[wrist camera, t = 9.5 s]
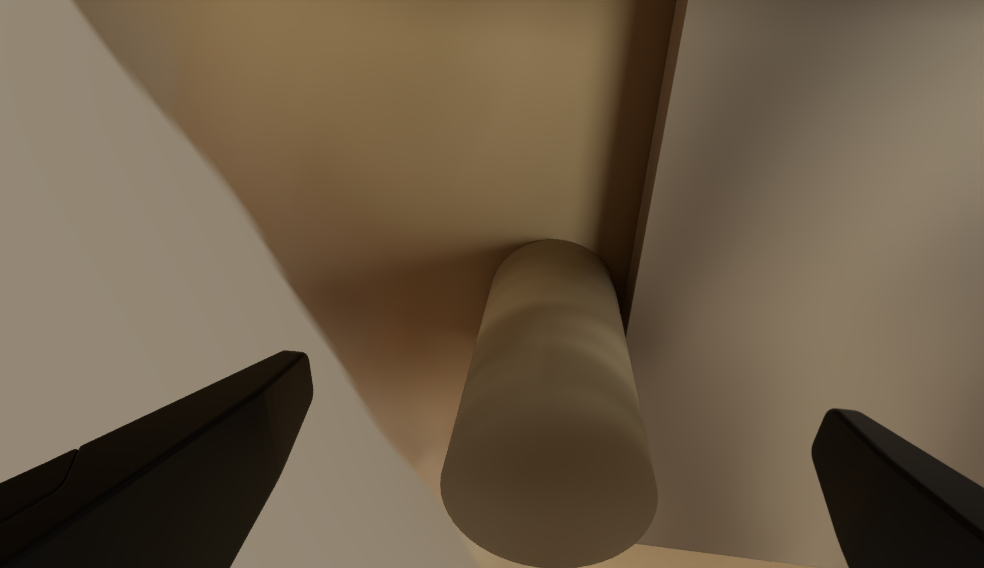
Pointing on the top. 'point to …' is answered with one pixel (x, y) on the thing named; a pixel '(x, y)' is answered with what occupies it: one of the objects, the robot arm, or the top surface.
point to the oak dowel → (550, 418)
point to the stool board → (806, 258)
